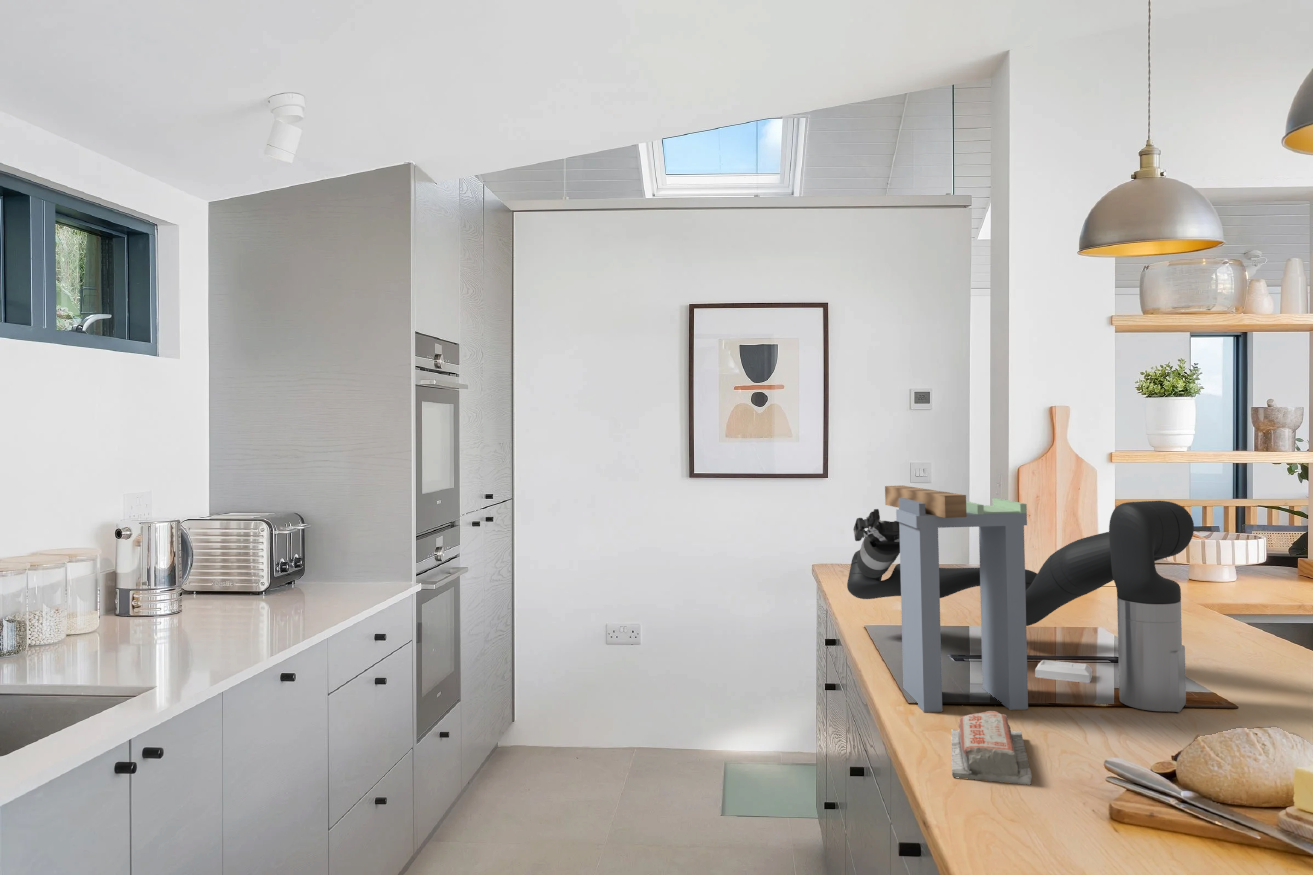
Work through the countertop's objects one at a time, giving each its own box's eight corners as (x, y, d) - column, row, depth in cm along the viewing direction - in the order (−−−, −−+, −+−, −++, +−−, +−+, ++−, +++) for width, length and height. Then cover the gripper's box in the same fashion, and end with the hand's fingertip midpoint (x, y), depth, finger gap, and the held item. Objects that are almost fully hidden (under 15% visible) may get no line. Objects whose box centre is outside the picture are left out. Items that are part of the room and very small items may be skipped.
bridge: (900, 690, 158) (895, 498, 158) (1002, 688, 159) (998, 495, 158) (920, 712, 146) (916, 503, 146) (1031, 709, 147) (1026, 500, 146)
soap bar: (1089, 685, 160) (1089, 670, 160) (1035, 679, 165) (1035, 664, 165) (1092, 678, 165) (1091, 663, 165) (1039, 672, 169) (1038, 658, 169)
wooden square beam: (885, 504, 168) (884, 486, 168) (903, 504, 168) (903, 485, 168) (945, 517, 142) (944, 495, 142) (966, 517, 142) (966, 495, 142)
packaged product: (1032, 751, 116) (951, 745, 119) (1033, 788, 116) (952, 781, 119) (1021, 709, 133) (950, 704, 136) (1022, 741, 133) (951, 736, 136)
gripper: (844, 529, 186) (859, 495, 172) (913, 528, 186) (934, 493, 172) (849, 564, 182) (865, 532, 168) (919, 562, 183) (941, 530, 168)
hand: (900, 512), depth 170 cm, fingers open, 8 cm apart
